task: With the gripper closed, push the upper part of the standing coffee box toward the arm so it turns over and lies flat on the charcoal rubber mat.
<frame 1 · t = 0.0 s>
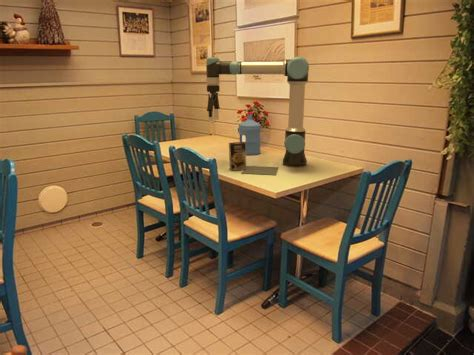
hand: (213, 121, 231), 28 cm above the table, tool pointing down, fingers open, 13 cm apart
coffee box: (238, 169, 229), on the table, touching mat
mat: (260, 170, 227), on the table
water jug: (249, 153, 275), on the table
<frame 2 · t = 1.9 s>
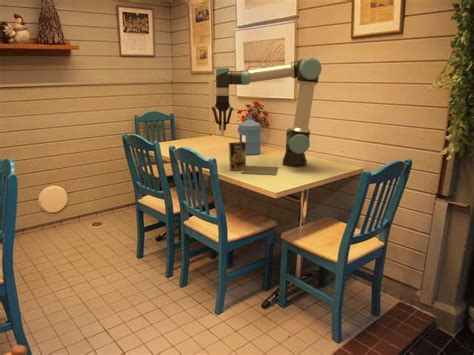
hand: (222, 135, 225), 20 cm above the table, tool pointing down, fingers closed
nothing on the table moved.
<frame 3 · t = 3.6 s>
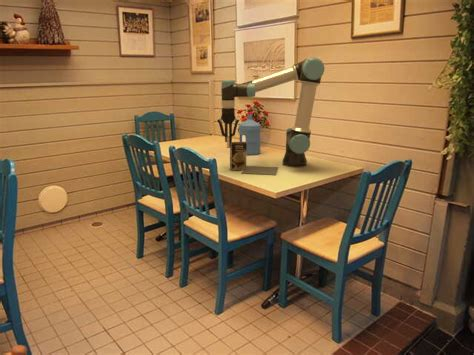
hand: (228, 147, 227), 13 cm above the table, tool pointing down, fingers closed
coffee box: (238, 169, 229), on the table, touching gripper, mat
everything else where it was.
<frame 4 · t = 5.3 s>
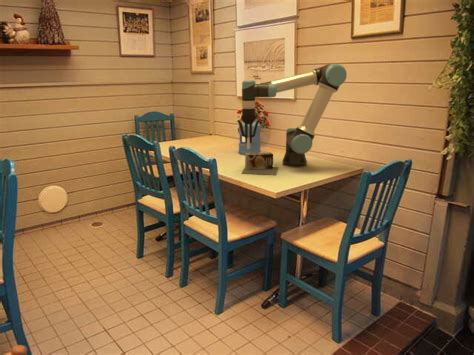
hand: (248, 148, 225), 13 cm above the table, tool pointing down, fingers closed
coffee box: (245, 161, 229), point 5 cm above the table, touching mat
everything else where it was.
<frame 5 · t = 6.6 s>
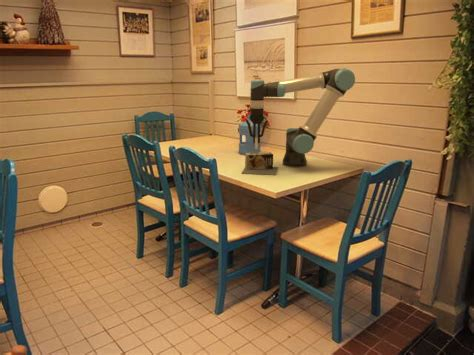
hand: (256, 148, 224), 13 cm above the table, tool pointing down, fingers closed
nothing on the table moved.
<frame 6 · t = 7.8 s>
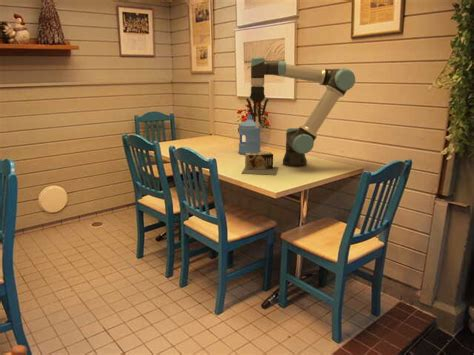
hand: (257, 127, 221), 26 cm above the table, tool pointing down, fingers closed
nothing on the table moved.
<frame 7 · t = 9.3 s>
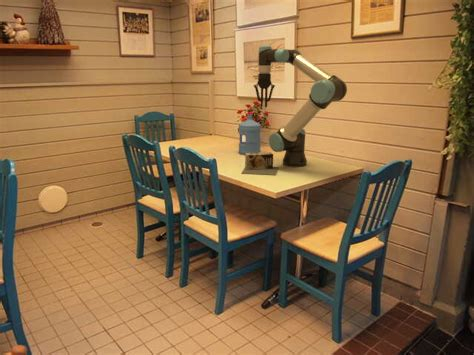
hand: (263, 112, 235), 32 cm above the table, tool pointing down, fingers closed
nothing on the table moved.
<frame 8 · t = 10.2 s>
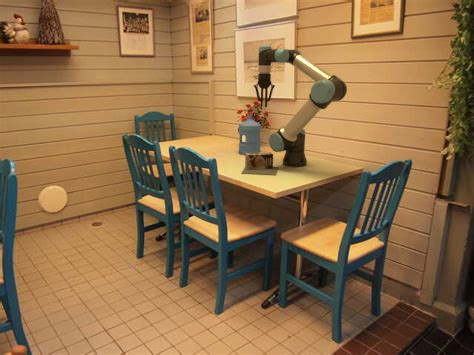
hand: (263, 112, 235), 32 cm above the table, tool pointing down, fingers closed
nothing on the table moved.
at the end: coffee box tilted 89°; coffee box touching mat; coffee box inside the target area (5.5 cm from its centre), point 4.8 cm above the table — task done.
